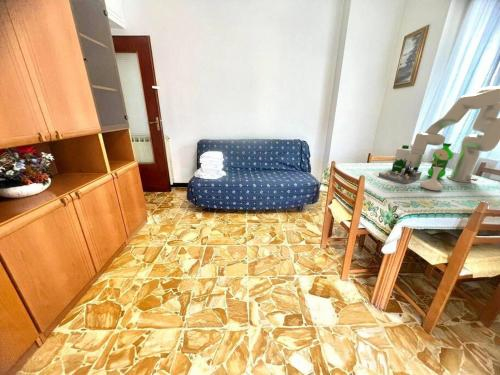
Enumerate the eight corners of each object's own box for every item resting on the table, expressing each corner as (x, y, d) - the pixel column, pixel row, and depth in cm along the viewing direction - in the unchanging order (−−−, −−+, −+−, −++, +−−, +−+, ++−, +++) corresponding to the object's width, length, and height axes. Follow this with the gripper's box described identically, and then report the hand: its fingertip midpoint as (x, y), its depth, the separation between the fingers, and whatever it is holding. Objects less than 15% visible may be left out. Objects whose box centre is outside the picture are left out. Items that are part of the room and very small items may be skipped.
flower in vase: (446, 193, 124) (463, 152, 115) (425, 191, 126) (439, 151, 117) (433, 185, 136) (447, 147, 127) (413, 183, 138) (426, 146, 129)
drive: (419, 178, 148) (422, 171, 146) (414, 180, 146) (417, 172, 143) (404, 174, 156) (406, 167, 154) (400, 175, 154) (402, 168, 152)
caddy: (415, 181, 142) (417, 175, 141) (404, 184, 137) (405, 178, 136) (389, 173, 157) (390, 168, 156) (378, 176, 152) (379, 171, 151)
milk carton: (405, 171, 165) (413, 146, 157) (402, 173, 159) (410, 147, 152) (393, 168, 171) (400, 144, 163) (389, 170, 165) (396, 145, 158)
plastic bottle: (444, 180, 145) (458, 145, 135) (425, 177, 151) (437, 143, 141) (443, 176, 152) (456, 143, 143) (425, 174, 158) (436, 141, 148)
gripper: (418, 149, 150) (411, 171, 157) (404, 151, 143) (397, 174, 150) (430, 151, 144) (422, 174, 151) (416, 153, 137) (408, 177, 144)
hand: (410, 174), depth 150 cm, fingers open, 9 cm apart
